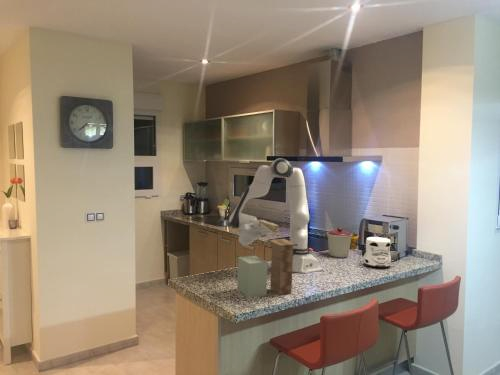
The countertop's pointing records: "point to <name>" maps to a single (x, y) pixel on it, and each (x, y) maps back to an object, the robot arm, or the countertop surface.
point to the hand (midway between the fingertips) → (263, 223)
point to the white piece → (377, 252)
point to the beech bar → (268, 226)
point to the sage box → (252, 276)
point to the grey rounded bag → (394, 255)
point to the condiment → (354, 241)
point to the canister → (339, 243)
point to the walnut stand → (281, 266)
